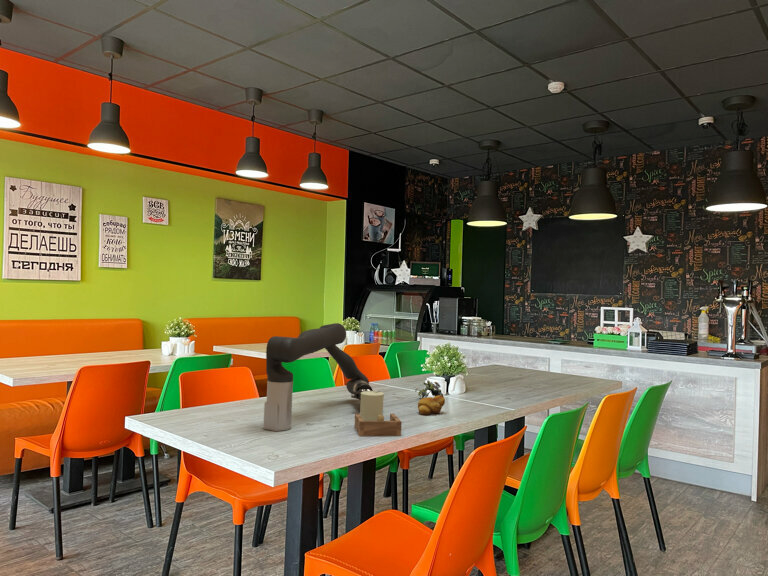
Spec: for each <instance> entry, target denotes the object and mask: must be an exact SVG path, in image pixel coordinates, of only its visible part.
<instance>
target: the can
mask: <svg viewBox="0 0 768 576" xmlns="http://www.w3.org/2000/svg"><path fill="white" fill-rule="evenodd" d="M384 394H385V393H384V392H381V391H380V392H378V391H375V390H373V391H364V392H361V401H360V404H359V405H360V408H359V409H360V412H359V415H360V416H361V418H362V419H363V421H377V416H378V415H383V416H384V396H385V395H384Z"/></svg>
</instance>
